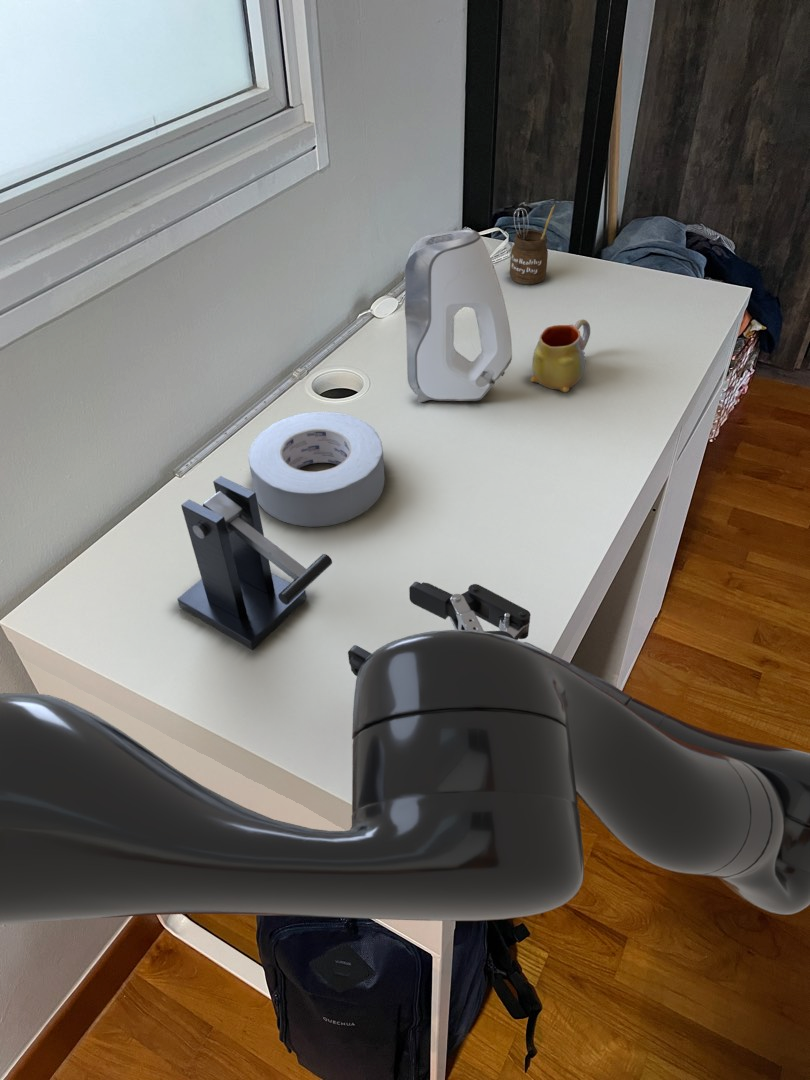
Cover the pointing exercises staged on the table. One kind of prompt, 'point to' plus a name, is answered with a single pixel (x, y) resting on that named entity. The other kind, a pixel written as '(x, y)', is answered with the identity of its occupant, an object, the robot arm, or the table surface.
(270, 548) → the switch lever
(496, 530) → the table surface
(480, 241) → the jug
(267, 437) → the tape roll
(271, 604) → the switch bracket
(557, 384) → the mug
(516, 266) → the utensil holder
